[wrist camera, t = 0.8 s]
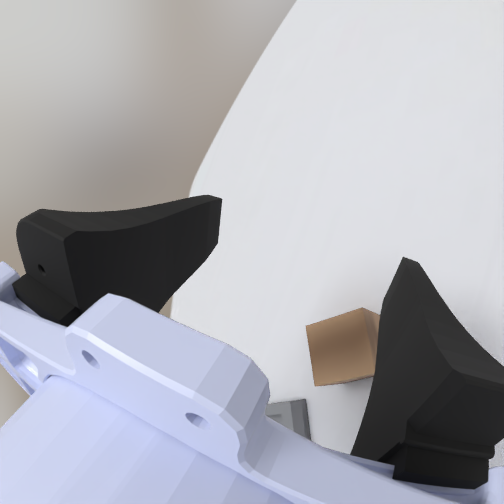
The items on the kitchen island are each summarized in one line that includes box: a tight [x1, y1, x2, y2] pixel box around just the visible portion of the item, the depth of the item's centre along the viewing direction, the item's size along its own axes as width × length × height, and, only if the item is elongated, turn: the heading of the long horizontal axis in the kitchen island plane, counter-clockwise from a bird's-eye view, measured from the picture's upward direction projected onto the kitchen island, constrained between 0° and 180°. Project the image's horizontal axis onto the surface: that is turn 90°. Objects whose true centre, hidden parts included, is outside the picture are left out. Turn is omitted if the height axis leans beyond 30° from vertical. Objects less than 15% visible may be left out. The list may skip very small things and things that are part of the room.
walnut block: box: [306, 308, 380, 386], centre depth 22 cm, size 4×4×5 cm
